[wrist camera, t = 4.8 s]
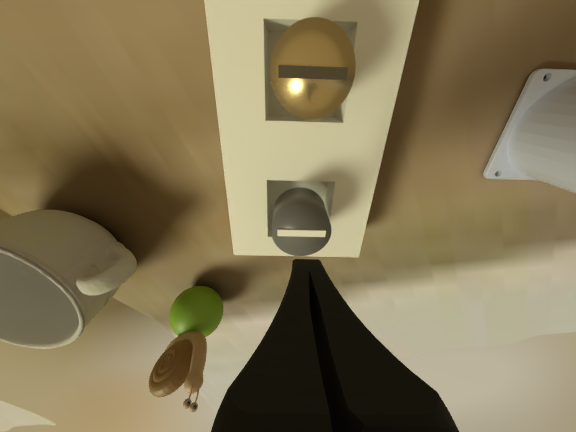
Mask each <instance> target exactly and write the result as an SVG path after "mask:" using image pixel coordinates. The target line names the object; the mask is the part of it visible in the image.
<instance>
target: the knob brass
mask: <svg viewBox="0 0 576 432" xmlns="http://www.w3.org/2000/svg"><path fill="white" fill-rule="evenodd" d="M355 70H356V60H355V53H354V49H353V46H352V44H351V41H350V39H349V38H348V36H347V34H346V33H345V32H344V30H343V29H342V28H341V27H340V26H338V25H337V24H336V23H334V22H332V21H330V20H328V19H325V18H321V17H309V18H305V19H302V20H299V21H297V22H296V23H294V24H292V25H291V26H290V27H289V28H287V29H286V31H285V32H284V33H283V34H282V35H281V37H280V38H279V40H278V41H277V43H276V45H275V48H274V50H273V53H272V57H271V62H270V79H271V85H272V88H273V91H274V93H275V96H276V97H277V99H278V101H279V102H280V104H281V105H282V106H283V107H284V108H285V109H286V110H287V111H289V112H290V113H291V114H293V115H295V116H298V117H300V118H305V119H316V118H321V117H324V116H326V115H328V114H330V113H332V112H333V111H335V110H336V109H337V108H338V107H339V106H340V105H341V104H342V103H343V102H344V100H345V99H346V97H347V96H348V94H349V92H350V90H351V88H352V85H353V81H354V77H355Z"/></svg>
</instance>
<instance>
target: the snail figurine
mask: <svg viewBox="0 0 576 432" xmlns="http://www.w3.org/2000/svg"><path fill="white" fill-rule="evenodd" d="M222 316H223V303H222V300H221V298H220V296H219V295H218V293H217V292H216V291H214V290H213V289H211V288H209V287H205V286H195V287H191V288H189V289H187V290H185V291H183V292H182V293H181V294H180V295H179V296H178V297H177V298H176V299H175V301H174V302H173V304H172V307H171V310H170V324H171V327H172V329H173V331H174V332H175V333H176V334H177V335H178V337H177V338H175V339H174V340H173V341H172V342H171V343H170V344H169V346H168V347H167V348H166V350H165V352H164V353H163V354H162V355H161V357H160V358H159V359H158V361H157V362H156V364H155V366H154V368H153V370H152V372H151V375H150V379H149V389H150V392H151V393H152V394H153V395H154V396H157V397H164V396H167V395H169V394H171V393H173V392H174V391H175V390H177V389H178V388H179V387H180V386H181V385H182V384H183V383H184V382H185V383H184V387H185V390H186V392H188V393H190V396H191V394H192V393H195V392H197V391H198V392H197V397H198V393H199V389H200V388H201V386H202V384H203V370H204V366H205V361H206V352H207V344H206V338H205V337H206V336H208V335H210V334H211V333H212V332H213V331H214V330H215V329H216V328H217V327H218V325H219V323H220V321H221V319H222ZM190 396H189V398H188V399H186V400H185V401H184V403H183V407H184V408H185V409H187V408H189V407H190V411H191V412H195V411H196V410H197V407H198V404H197V403H196V401H197V397H196V401H195V402H194V403H192V404H191V400H190Z"/></svg>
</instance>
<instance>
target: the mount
mask: <svg viewBox="0 0 576 432" xmlns="http://www.w3.org/2000/svg"><path fill="white" fill-rule="evenodd" d="M204 2H205V11H206V19H207V28H208V37H209V45H210V54H211V62H212V71H213V80H214V88H215V97H216V106H217V114H218V123H219V131H220V140H221V149H222V157H223V166H224V175H225V183H226V192H227V200H228V209H229V218H230V226H231V235H232V244H233V252H234V255H265V256H294V255H290V254H287V253H285V252H283V251H282V250H280V249H279V248H278V247H277V246H276V244H275V243H274V241H273V239H272V233H271V230H272V220H273V211H274V205H275V202H276V200H277V199H278V197H279V196H280V195H281V194H282V193H284V192H285V191H287V190H289V189H292V188H297V187H302V188H308V189H311V190H313V191H315V192H316V193H317V194H318V195H319V196H320V197H321V198H322V200H323V202H324V205H325V208H326V211H327V214H328V217H329V220H330V224H331V229H332V231H331V237H330V239H329V241H328V243H327V244H326V245H325V246H324V247H323V248H322V249H321V250H320V251H318V252H316V253H314V254H311V255H307V256H319V257H359V253H360V249H361V245H362V241H363V236H364V232H365V228H366V224H367V220H368V215H369V211H370V207H371V203H372V198H373V194H374V190H375V186H376V181H377V177H378V173H379V169H380V165H381V160H382V156H383V152H384V148H385V143H386V139H387V135H388V131H389V126H390V122H391V118H392V114H393V110H394V105H395V101H396V97H397V93H398V88H399V84H400V80H401V76H402V71H403V67H404V63H405V59H406V55H407V50H408V46H409V42H410V38H411V33H412V29H413V25H414V21H415V16H416V12H417V8H418V4H419V0H204ZM309 17H321V18H325V19H328V20H330V21H332V22H334V23H336V24H337V25H338V26H340V27H341V28H342V29H343V30H344V32H345V33H346V34H347V36H348V38H349V39H350V41H351V44H352V46H353V49H354V53H355V60H356V70H355V77H354V81H353V85H352V88H351V90H350V92H349V94H348V96H347V97H346V99H345V100H344V102H343V103H342V104H341V105H340V106H339V107H338V108H337V109H336V110H335V111H333V112H332V113H330V114H328V115H326V116H324V117H321V118H316V119H305V118H300V117H298V116H295V115H293V114H291V113H290V112H289V111H287V110H286V109H285V108H284V107H283V106H282V105H281V104H280V102H279V101H278V99H277V97H276V96H275V93H274V91H273V88H272V85H271V79H270V62H271V57H272V53H273V50H274V48H275V45H276V43H277V41H278V40H279V38H280V37H281V35H282V34H283V33H284V32H285V31H286V29H287V28H289V27H290V26H291V25H292V24H294V23H296V22H297V21H299V20H302V19H305V18H309Z"/></svg>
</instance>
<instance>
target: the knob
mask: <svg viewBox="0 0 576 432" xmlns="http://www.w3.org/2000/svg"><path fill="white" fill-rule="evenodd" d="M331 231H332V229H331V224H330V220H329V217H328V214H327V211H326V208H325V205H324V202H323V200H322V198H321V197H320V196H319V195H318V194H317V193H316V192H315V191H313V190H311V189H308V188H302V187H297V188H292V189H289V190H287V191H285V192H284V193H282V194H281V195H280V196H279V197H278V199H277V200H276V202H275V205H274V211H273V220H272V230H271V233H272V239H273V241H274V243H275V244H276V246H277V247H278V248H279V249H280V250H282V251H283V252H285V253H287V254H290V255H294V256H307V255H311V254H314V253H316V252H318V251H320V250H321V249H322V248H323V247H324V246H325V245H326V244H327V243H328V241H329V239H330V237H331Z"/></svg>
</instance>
